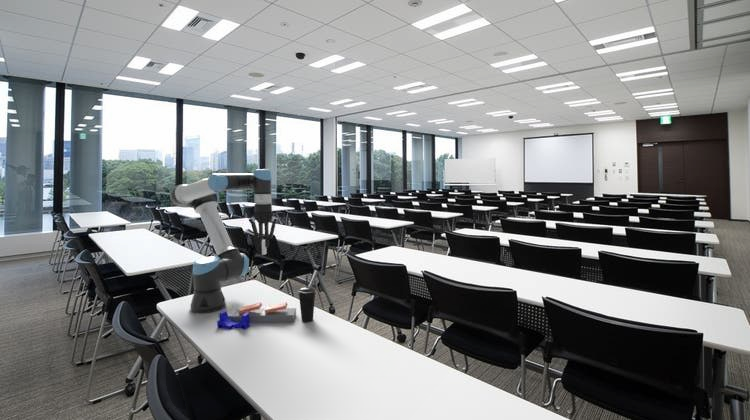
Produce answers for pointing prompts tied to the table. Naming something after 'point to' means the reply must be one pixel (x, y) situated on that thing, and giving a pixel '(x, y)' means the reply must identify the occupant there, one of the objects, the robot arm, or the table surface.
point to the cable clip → (229, 324)
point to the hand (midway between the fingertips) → (264, 254)
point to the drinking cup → (307, 302)
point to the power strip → (267, 316)
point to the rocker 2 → (276, 307)
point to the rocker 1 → (250, 308)
